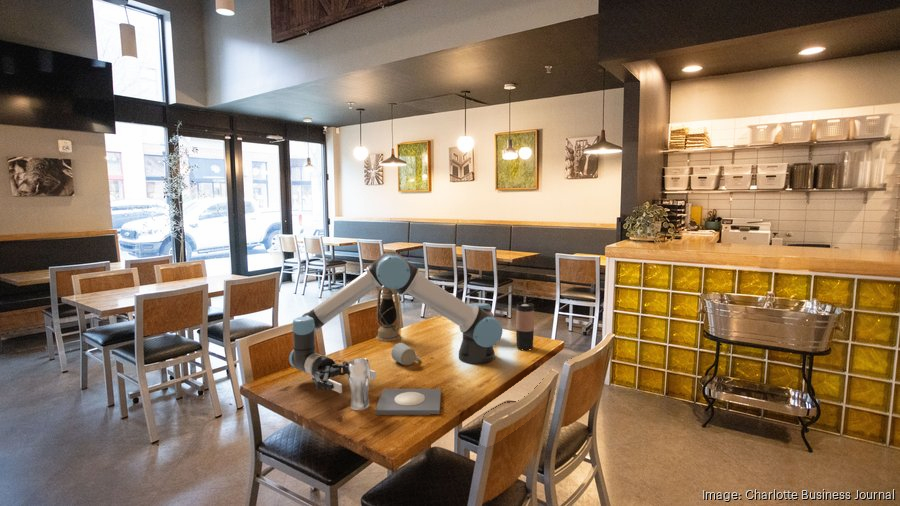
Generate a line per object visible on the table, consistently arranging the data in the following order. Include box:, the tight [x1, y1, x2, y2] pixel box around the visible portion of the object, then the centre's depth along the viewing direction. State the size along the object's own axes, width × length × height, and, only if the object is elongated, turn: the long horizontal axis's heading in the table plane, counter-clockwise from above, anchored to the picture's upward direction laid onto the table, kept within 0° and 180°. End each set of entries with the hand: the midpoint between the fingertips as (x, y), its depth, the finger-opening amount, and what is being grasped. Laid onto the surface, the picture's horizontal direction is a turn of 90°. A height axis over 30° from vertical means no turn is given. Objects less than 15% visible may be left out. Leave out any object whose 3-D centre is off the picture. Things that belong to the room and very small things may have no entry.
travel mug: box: [515, 302, 535, 351], centre depth 205 cm, size 8×8×20 cm
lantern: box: [375, 286, 402, 343], centre depth 221 cm, size 14×12×30 cm
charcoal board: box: [374, 388, 442, 416], centre depth 152 cm, size 20×16×2 cm
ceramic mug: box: [390, 342, 420, 366], centre depth 189 cm, size 11×8×8 cm
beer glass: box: [347, 357, 371, 411], centre depth 149 cm, size 7×7×15 cm
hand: (358, 382), depth 149 cm, fingers open, 13 cm apart
